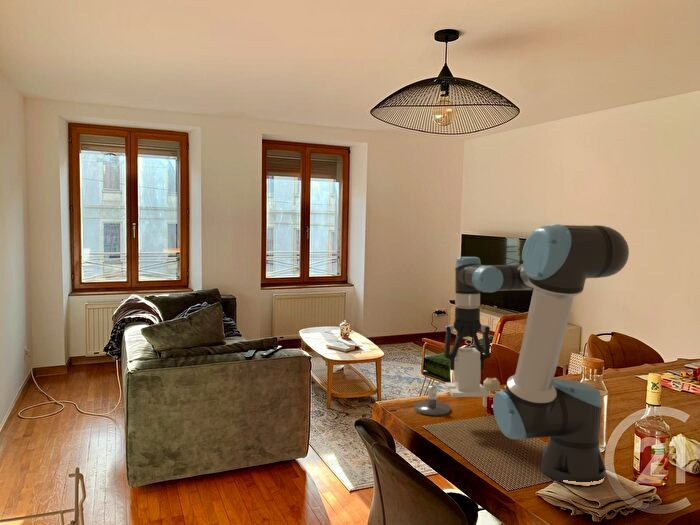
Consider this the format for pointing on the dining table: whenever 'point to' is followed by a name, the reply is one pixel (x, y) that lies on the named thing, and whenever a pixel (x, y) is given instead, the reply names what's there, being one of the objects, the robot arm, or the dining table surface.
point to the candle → (490, 387)
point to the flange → (467, 375)
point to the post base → (433, 411)
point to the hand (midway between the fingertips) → (466, 380)
